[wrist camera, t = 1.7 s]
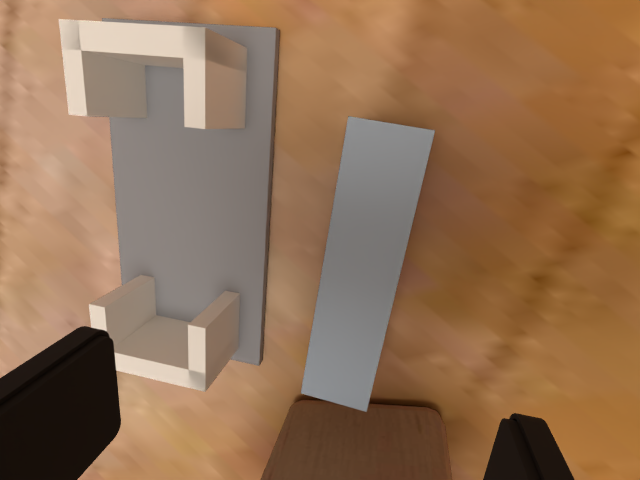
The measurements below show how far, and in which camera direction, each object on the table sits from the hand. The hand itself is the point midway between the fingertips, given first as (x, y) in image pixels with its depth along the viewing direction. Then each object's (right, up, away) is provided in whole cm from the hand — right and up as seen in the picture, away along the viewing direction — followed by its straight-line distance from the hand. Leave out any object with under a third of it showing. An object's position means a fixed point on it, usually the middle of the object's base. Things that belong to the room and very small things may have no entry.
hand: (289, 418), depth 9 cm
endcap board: (-7, +6, +15) cm, 17 cm away
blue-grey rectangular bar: (+4, +4, +13) cm, 14 cm away
